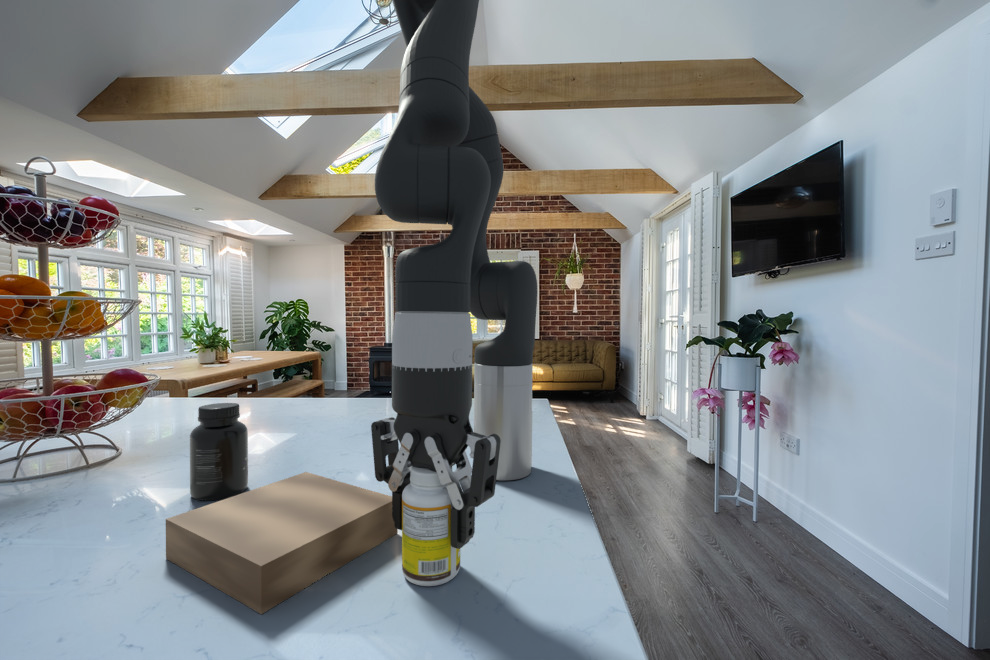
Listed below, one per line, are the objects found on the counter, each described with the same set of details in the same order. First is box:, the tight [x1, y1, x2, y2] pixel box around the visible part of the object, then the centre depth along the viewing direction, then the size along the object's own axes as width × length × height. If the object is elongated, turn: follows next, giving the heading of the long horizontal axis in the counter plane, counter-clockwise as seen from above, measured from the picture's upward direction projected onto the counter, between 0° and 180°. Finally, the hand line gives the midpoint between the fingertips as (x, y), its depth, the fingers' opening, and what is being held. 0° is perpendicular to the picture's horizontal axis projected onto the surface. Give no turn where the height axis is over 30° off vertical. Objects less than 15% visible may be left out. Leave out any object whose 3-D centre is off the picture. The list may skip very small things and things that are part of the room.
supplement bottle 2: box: [401, 466, 461, 587], centre depth 42 cm, size 6×6×10 cm
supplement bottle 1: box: [189, 402, 249, 501], centre depth 61 cm, size 7×7×12 cm
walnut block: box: [165, 471, 399, 615], centre depth 47 cm, size 16×16×4 cm
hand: (431, 534), depth 42 cm, fingers open, 6 cm apart
